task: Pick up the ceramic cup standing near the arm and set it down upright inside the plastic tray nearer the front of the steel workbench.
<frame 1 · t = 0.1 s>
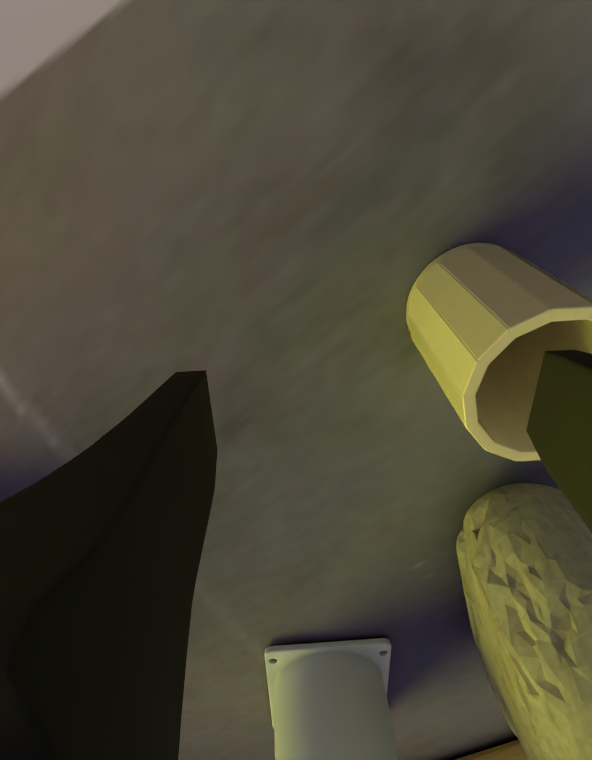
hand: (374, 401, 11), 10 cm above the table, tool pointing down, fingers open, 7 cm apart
cup: (467, 305, 21), on the table
stone: (514, 559, 29), on the table
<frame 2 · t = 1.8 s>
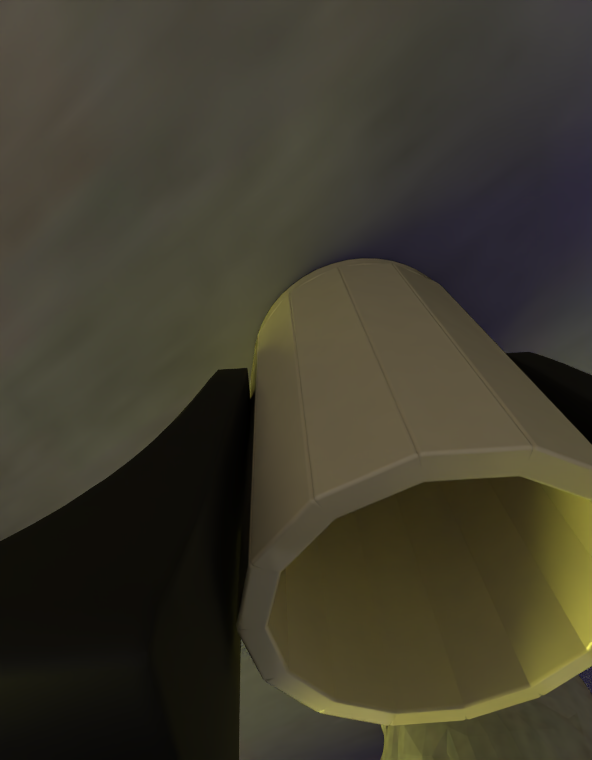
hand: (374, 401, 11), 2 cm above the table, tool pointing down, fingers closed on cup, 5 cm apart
cup: (358, 361, 12), on the table, touching gripper
stone: (469, 694, 20), on the table
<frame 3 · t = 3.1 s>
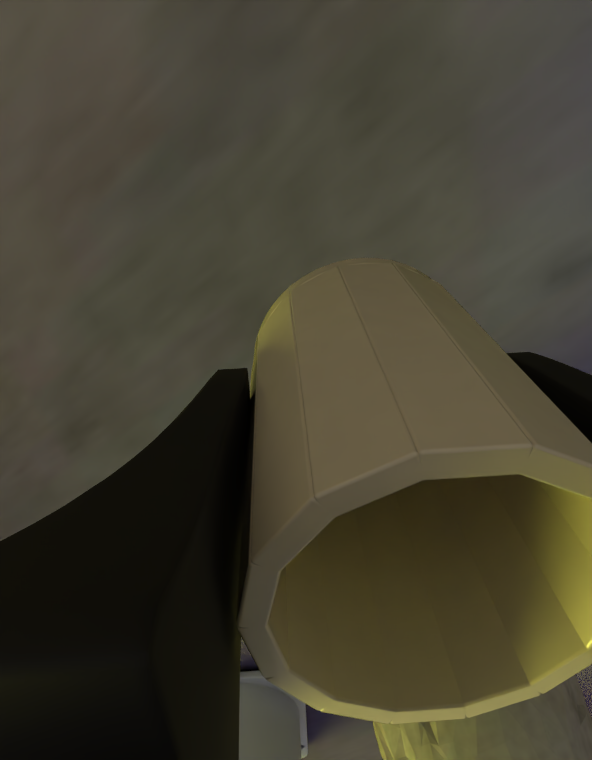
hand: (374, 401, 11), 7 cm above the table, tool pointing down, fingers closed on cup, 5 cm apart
cup: (358, 360, 12), point 5 cm above the table, touching gripper
stone: (436, 580, 25), on the table
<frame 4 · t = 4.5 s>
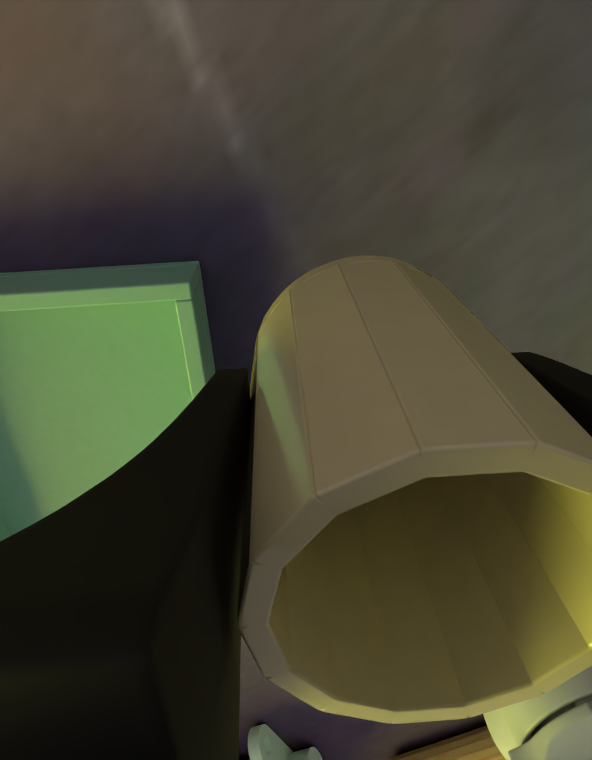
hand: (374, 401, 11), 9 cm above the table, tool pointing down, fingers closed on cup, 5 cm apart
hammer: (589, 692, 34), on the table
cup: (359, 358, 12), point 7 cm above the table, touching gripper
tray: (95, 440, 21), on the table
mechanical part: (289, 738, 35), on the table
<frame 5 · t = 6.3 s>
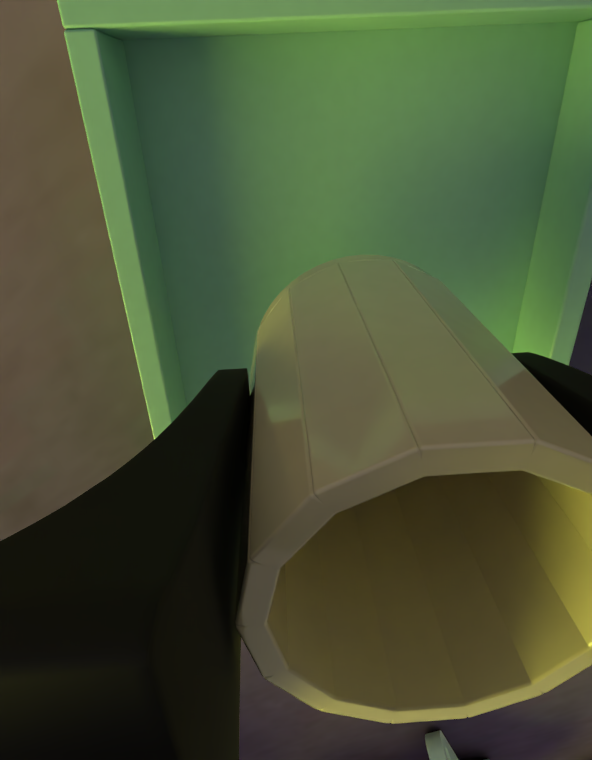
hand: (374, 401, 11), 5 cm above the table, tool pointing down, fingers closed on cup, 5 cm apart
cup: (358, 358, 12), point 3 cm above the table, touching gripper
tray: (345, 318, 15), on the table
mechanical part: (460, 748, 28), on the table
when the fingers open (2 cm above the table, at t = 7.5 s): cup stays where it is, resting on tray.
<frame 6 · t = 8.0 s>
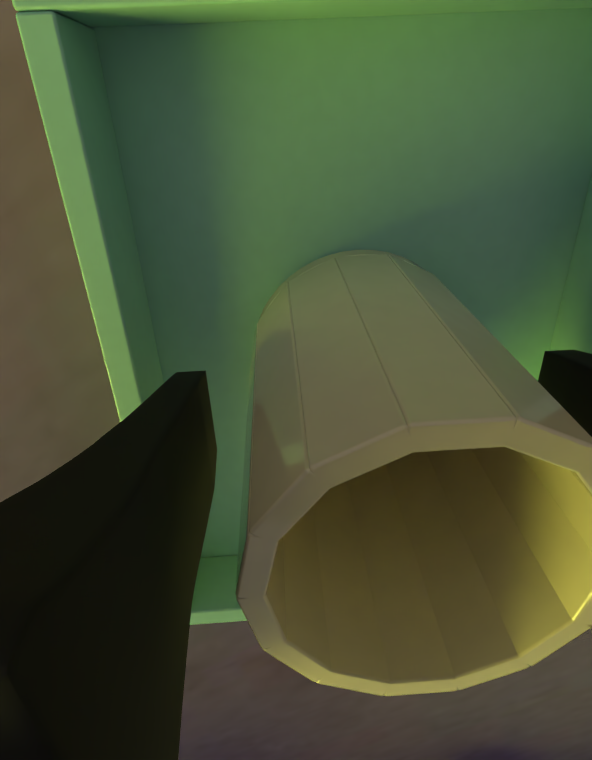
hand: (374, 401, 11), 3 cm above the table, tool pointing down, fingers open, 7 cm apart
cup: (355, 351, 13), resting on tray
tray: (354, 345, 13), on the table
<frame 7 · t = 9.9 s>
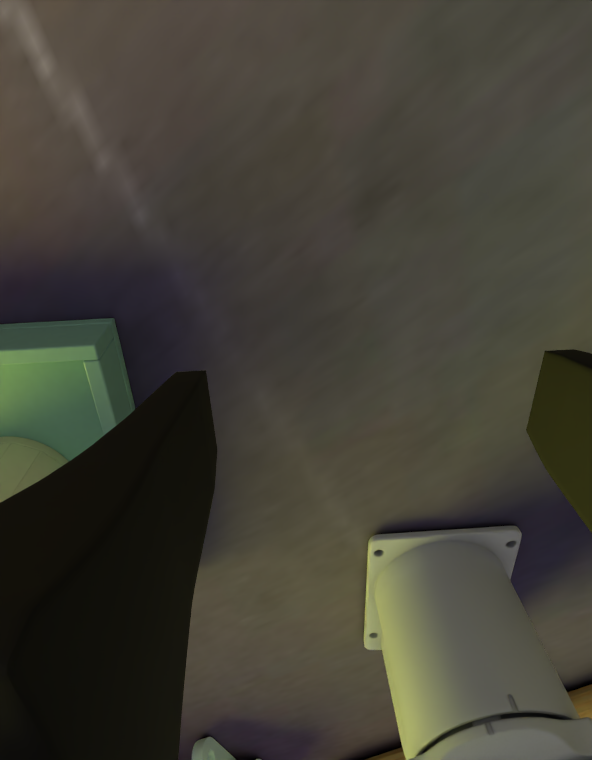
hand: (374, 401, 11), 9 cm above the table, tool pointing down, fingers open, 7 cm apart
hammer: (522, 708, 36), on the table
cup: (22, 482, 22), resting on tray
tray: (28, 476, 23), on the table
mechanical part: (236, 750, 36), on the table
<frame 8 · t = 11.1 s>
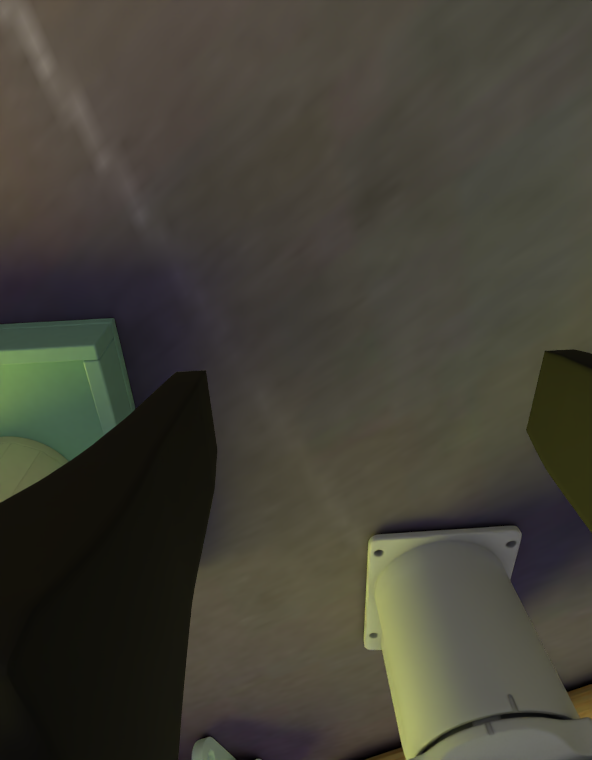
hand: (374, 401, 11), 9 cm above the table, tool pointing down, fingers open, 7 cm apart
hammer: (522, 708, 36), on the table
cup: (22, 482, 22), resting on tray
tray: (28, 476, 23), on the table
mechanical part: (236, 750, 36), on the table
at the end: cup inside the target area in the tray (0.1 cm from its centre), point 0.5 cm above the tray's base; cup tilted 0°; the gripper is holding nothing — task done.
